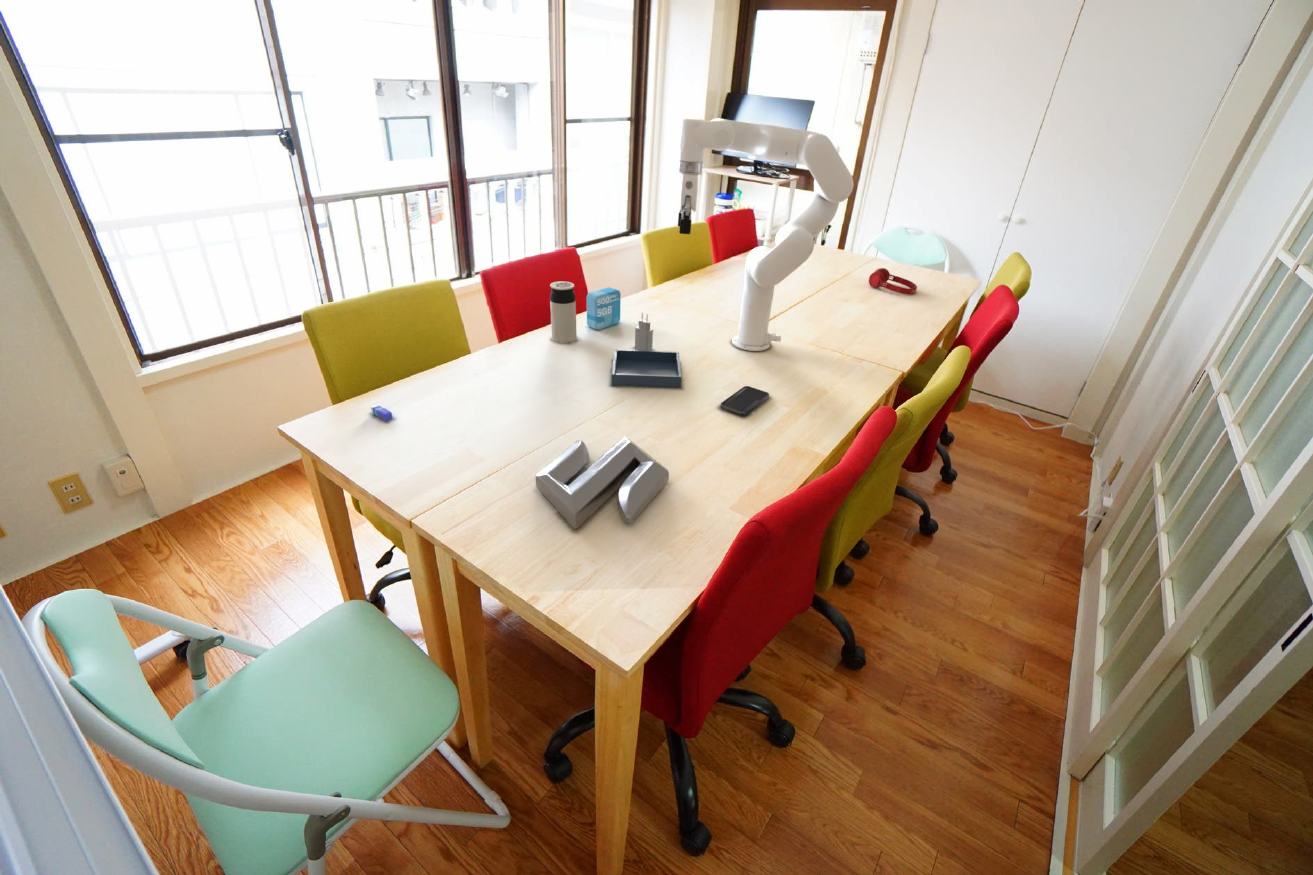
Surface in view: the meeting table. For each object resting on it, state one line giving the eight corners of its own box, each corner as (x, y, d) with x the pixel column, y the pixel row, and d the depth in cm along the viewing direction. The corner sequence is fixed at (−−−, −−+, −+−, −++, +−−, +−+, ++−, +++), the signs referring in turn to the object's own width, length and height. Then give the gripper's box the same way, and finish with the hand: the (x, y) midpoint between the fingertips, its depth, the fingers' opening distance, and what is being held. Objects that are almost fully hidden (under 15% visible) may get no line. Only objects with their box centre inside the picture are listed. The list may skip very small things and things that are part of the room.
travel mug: (581, 337, 191) (579, 283, 182) (568, 345, 185) (566, 290, 176) (560, 332, 194) (558, 279, 184) (547, 340, 188) (544, 285, 178)
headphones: (864, 286, 255) (908, 302, 248) (870, 271, 251) (915, 286, 244) (872, 279, 266) (915, 294, 259) (878, 264, 262) (922, 279, 255)
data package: (595, 331, 197) (595, 296, 190) (586, 327, 199) (585, 293, 193) (620, 322, 204) (620, 289, 198) (611, 319, 207) (611, 286, 201)
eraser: (379, 410, 144) (377, 403, 143) (393, 418, 141) (391, 411, 140) (371, 413, 143) (370, 406, 142) (385, 421, 140) (383, 414, 139)
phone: (719, 404, 153) (745, 385, 164) (718, 408, 154) (745, 388, 164) (745, 413, 150) (771, 393, 160) (744, 417, 150) (770, 397, 161)
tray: (678, 362, 178) (678, 351, 176) (680, 388, 163) (681, 377, 161) (614, 360, 177) (614, 349, 175) (611, 386, 162) (611, 374, 160)
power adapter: (639, 345, 188) (640, 310, 181) (653, 350, 185) (654, 314, 179) (633, 348, 185) (634, 312, 179) (647, 353, 183) (648, 316, 177)
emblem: (677, 507, 109) (527, 509, 106) (675, 529, 112) (529, 531, 109) (663, 430, 132) (540, 430, 130) (662, 450, 135) (542, 450, 133)
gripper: (705, 172, 157) (698, 237, 166) (700, 165, 172) (694, 224, 181) (677, 170, 157) (672, 236, 166) (674, 163, 171) (670, 223, 180)
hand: (683, 230), depth 173 cm, fingers open, 9 cm apart
